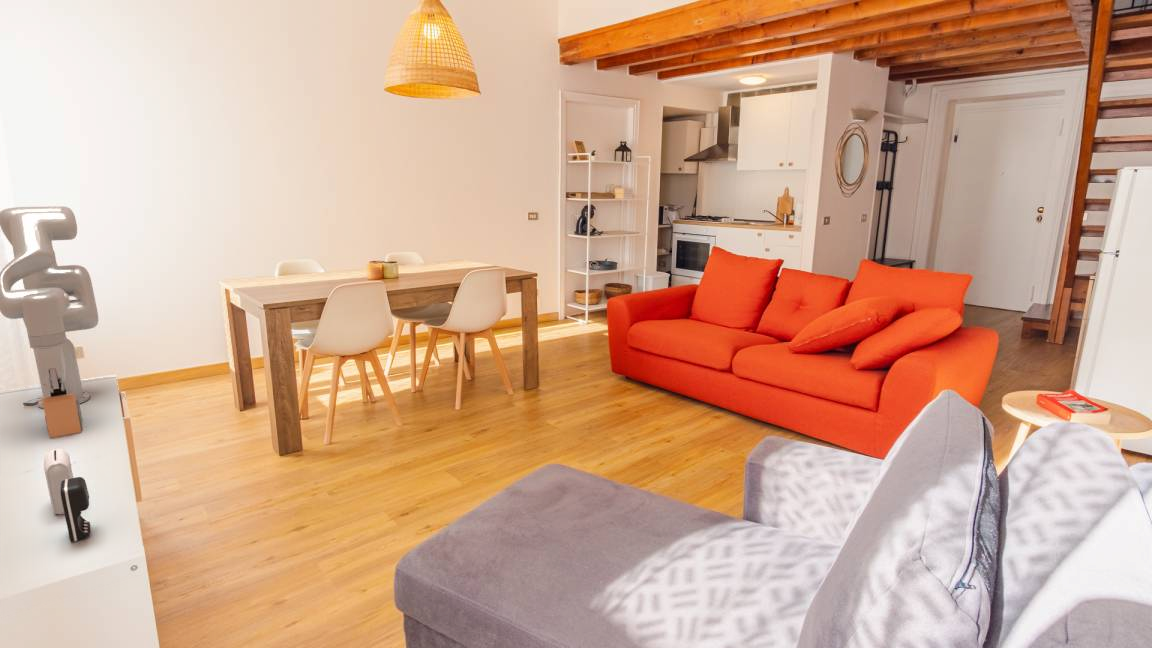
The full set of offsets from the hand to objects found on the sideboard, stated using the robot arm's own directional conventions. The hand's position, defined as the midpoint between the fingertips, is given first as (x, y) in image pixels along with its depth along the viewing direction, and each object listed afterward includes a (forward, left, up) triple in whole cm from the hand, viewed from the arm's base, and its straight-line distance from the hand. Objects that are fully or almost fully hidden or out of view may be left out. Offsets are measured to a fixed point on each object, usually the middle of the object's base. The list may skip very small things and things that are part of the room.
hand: (60, 404), depth 168 cm
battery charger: (+61, +3, -9) cm, 62 cm away
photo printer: (+45, 0, -9) cm, 46 cm away
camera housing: (-3, 0, -9) cm, 9 cm away
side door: (+3, 0, -8) cm, 8 cm away
